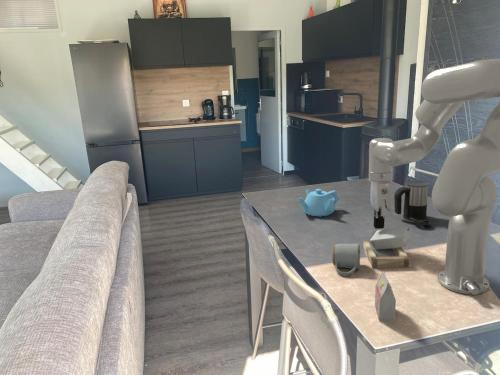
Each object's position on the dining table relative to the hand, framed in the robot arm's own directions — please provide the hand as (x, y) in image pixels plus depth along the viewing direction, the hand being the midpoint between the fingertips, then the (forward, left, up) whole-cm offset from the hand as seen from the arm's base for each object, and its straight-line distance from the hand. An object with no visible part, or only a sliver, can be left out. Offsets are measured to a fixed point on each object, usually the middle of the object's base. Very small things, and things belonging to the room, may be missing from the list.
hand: (378, 227), depth 132 cm
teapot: (+38, +17, -7) cm, 42 cm away
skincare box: (0, +1, -4) cm, 4 cm away
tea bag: (-40, +8, -7) cm, 41 cm away
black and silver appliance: (+24, -21, -7) cm, 33 cm away
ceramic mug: (-15, +13, -7) cm, 22 cm away
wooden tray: (-8, 0, -7) cm, 11 cm away
